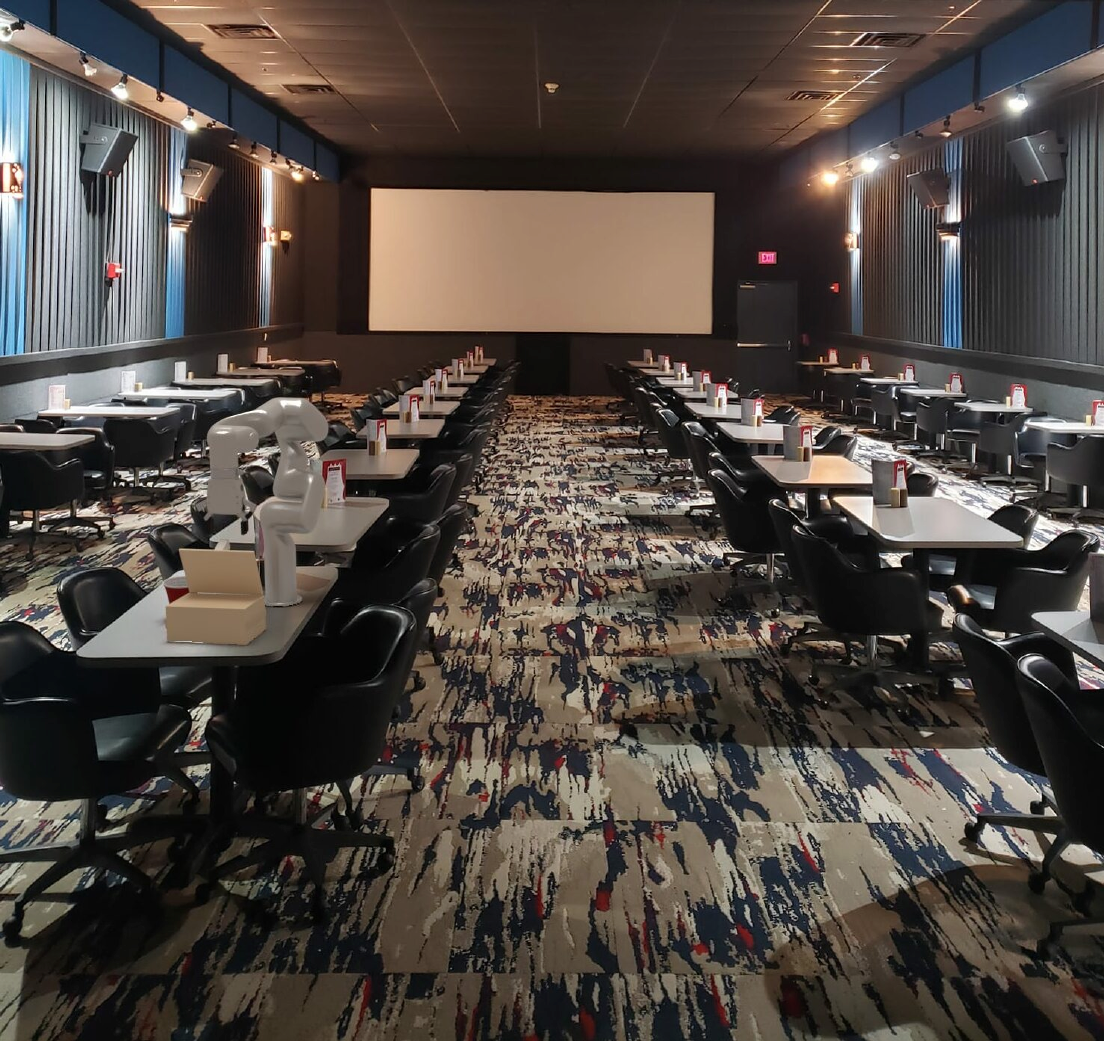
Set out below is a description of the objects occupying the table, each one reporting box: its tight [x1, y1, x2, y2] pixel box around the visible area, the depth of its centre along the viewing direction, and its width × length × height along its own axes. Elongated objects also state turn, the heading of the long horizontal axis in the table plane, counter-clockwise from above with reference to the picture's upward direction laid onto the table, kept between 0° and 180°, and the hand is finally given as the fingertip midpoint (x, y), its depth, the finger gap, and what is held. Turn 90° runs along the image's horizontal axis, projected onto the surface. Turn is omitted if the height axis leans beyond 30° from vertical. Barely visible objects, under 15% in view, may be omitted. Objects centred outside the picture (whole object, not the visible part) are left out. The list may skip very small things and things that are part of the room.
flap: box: [178, 538, 264, 595], centre depth 330 cm, size 15×21×7 cm
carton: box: [164, 593, 267, 646], centre depth 325 cm, size 16×22×10 cm
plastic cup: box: [161, 575, 194, 605], centre depth 341 cm, size 11×11×12 cm
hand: (227, 533), depth 331 cm, fingers open, 9 cm apart
